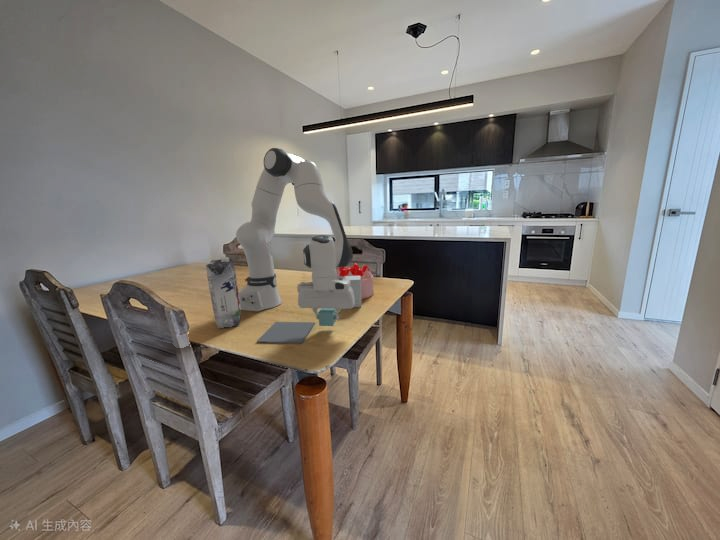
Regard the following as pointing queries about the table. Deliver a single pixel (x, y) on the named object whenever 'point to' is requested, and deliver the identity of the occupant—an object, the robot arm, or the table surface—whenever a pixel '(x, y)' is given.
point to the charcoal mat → (287, 332)
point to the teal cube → (326, 316)
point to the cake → (366, 278)
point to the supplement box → (356, 289)
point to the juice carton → (224, 292)
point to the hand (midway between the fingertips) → (327, 318)
